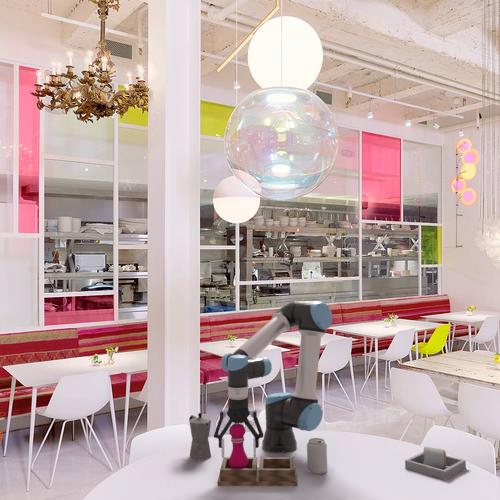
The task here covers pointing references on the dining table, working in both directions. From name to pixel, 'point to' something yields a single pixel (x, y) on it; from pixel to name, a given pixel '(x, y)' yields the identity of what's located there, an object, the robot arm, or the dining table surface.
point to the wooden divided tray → (259, 473)
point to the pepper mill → (238, 447)
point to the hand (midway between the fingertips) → (238, 456)
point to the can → (317, 456)
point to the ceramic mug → (434, 457)
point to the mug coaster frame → (416, 465)
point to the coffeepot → (200, 437)
